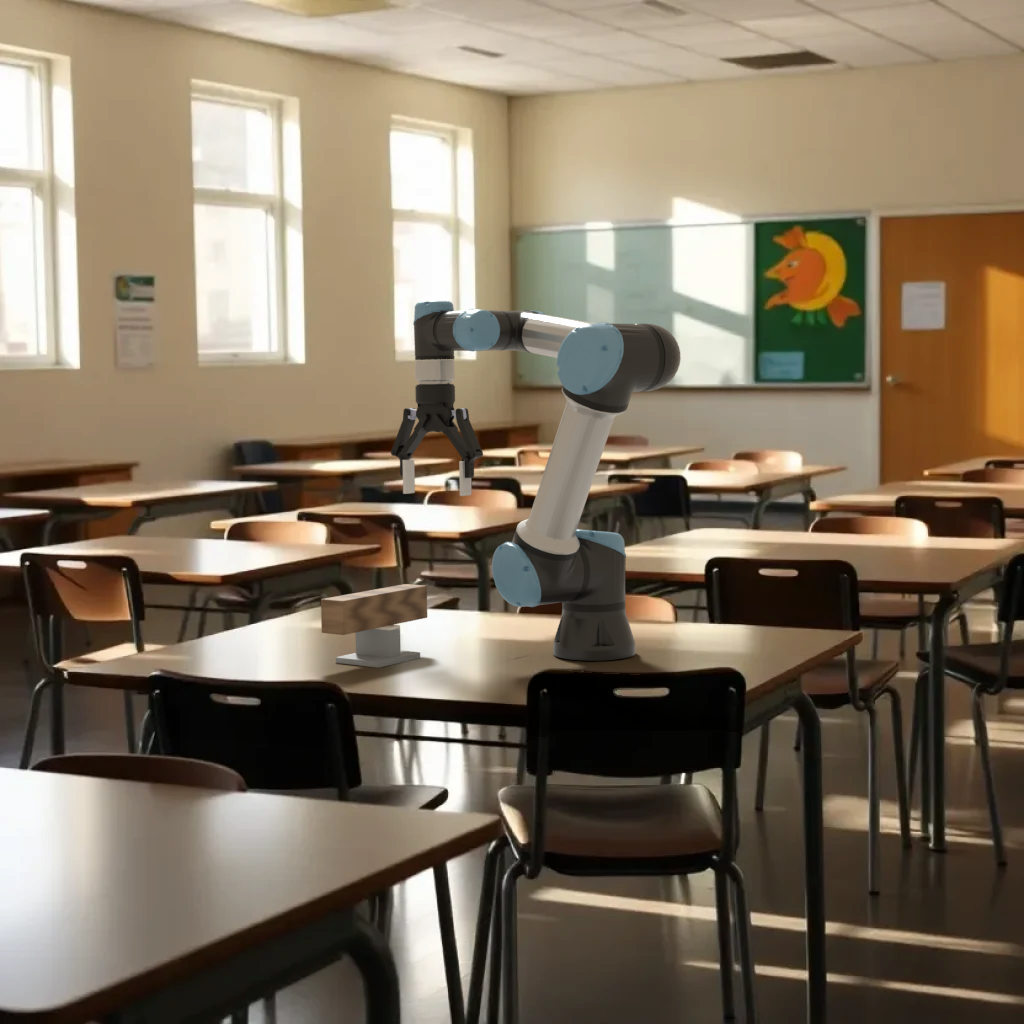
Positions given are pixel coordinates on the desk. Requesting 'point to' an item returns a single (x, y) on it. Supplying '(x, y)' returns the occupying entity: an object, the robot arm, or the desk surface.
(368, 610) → the brown long rectangular block
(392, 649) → the fulcrum
